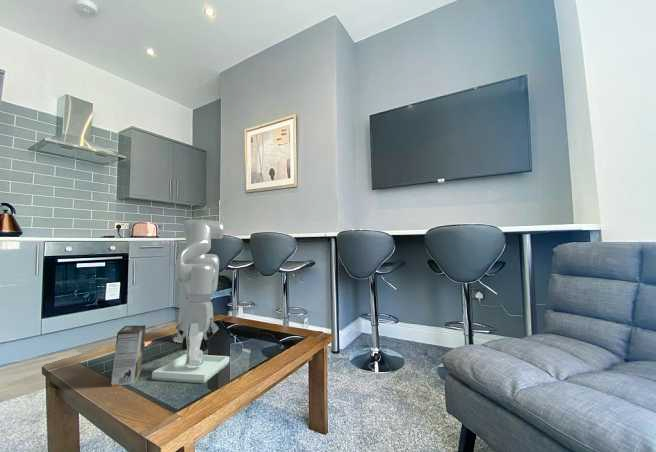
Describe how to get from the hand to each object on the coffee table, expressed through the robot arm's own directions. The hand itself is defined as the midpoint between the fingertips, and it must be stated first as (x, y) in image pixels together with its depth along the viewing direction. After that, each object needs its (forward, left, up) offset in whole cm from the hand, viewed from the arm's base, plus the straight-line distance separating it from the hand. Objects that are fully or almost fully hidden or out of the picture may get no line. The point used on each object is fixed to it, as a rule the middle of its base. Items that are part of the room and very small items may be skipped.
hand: (195, 349), depth 99 cm
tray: (0, 0, -7) cm, 7 cm away
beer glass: (0, 0, -5) cm, 5 cm away
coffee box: (+10, -17, -7) cm, 21 cm away
